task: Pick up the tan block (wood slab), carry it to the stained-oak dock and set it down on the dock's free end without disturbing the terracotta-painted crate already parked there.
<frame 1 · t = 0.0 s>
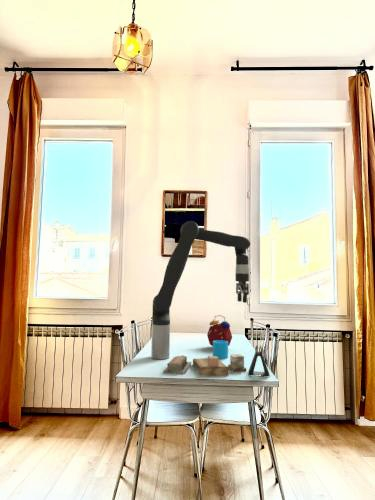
hand: (242, 302, 187), 29 cm above the table, fingers open, 8 cm apart
tan block: (237, 369, 156), on the table
dark a-shaped stand: (258, 374, 148), on the table
mug: (221, 356, 182), on the table
dock: (209, 369, 154), on the table
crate: (213, 366, 148), point 3 cm above the table, touching dock
packaged product: (178, 369, 156), on the table
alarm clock: (218, 349, 203), on the table
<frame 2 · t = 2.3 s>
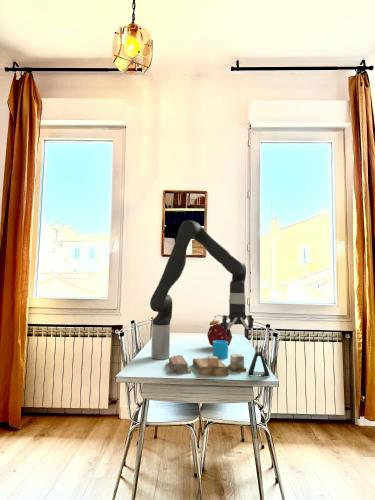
hand: (237, 337, 157), 14 cm above the table, fingers open, 8 cm apart
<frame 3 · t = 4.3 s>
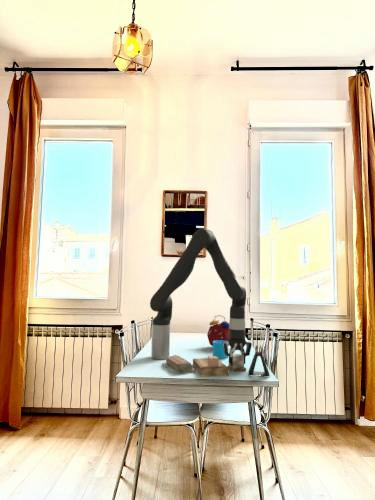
hand: (237, 364, 156), 2 cm above the table, fingers closed on tan block, 5 cm apart
tan block: (237, 369, 156), on the table, touching gripper
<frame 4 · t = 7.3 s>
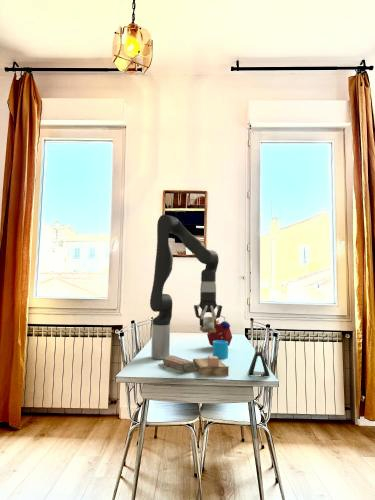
hand: (207, 326, 160), 19 cm above the table, fingers closed on tan block, 5 cm apart
tan block: (207, 331, 160), point 17 cm above the table, touching gripper
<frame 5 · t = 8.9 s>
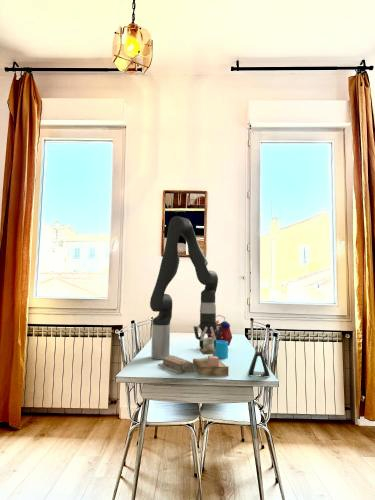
hand: (207, 348, 159), 9 cm above the table, fingers closed on tan block, 5 cm apart
tan block: (207, 352, 159), point 7 cm above the table, touching gripper
when the fingers open (6 cm above the table, at t = 10.3 s): tan block drops 1 cm, resting on dock.
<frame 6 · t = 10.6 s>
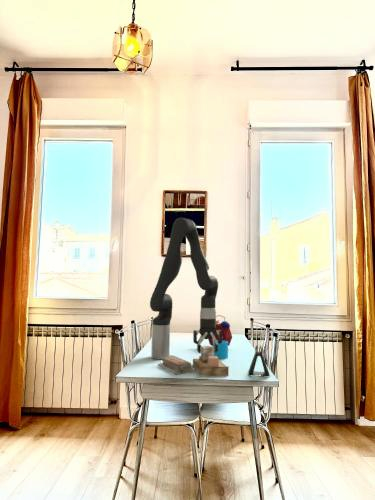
hand: (207, 352, 159), 7 cm above the table, fingers open, 7 cm apart
tan block: (207, 360, 159), point 3 cm above the table, touching dock
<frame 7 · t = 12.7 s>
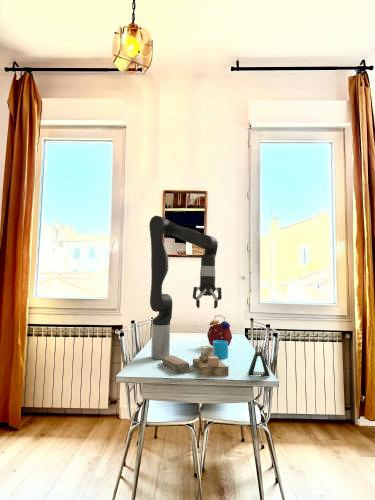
hand: (206, 308, 166), 27 cm above the table, fingers open, 8 cm apart
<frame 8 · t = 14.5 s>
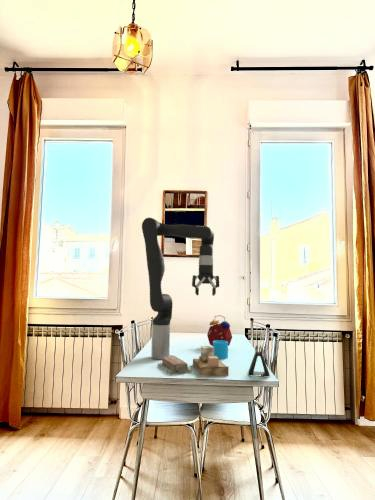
hand: (205, 295, 175), 33 cm above the table, fingers open, 8 cm apart
at the end: tan block inside the target area on the dock (0.8 cm from its centre), point 3.0 cm above the dock's base; tan block touching dock; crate moved 0.1 cm from its start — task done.
